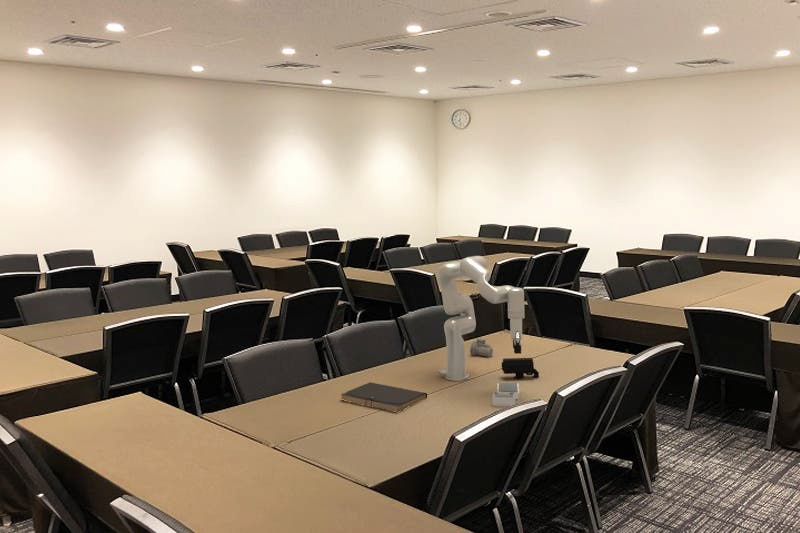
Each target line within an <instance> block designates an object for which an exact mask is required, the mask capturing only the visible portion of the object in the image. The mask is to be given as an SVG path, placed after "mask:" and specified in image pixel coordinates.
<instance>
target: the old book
mask: <svg viewBox="0 0 800 533" xmlns="http://www.w3.org/2000/svg"><path fill="white" fill-rule="evenodd" d="M340 396H341V400H342V399H344V400H347V401H351V402H355V403H359V404H364V405H365V407H367V406H366V405H369V406H371V407H372V406H373V407H377V408H376V409H379V408H383V409H382V410H384V409H388V410H391V411H390V412H392V411H396V412H399V411H401V410H403V409H405V408H407V407H408V406H411V405H412V406H414V405H416V404H418V403H420V402H422V401H424V400H426V399H427V398H428V393H427V392H422V391H419V390H412V389H407V388H404V387H403V388H402V387H397V386H391V385H388V384H387V385H386V384H383V383H382V384H381V383H376V382H372V381H371V382H367V383H365V384H363V385H359V386H357V387H355V388H353V389H349V390H347V391H346V392H343V393H340ZM425 398H426V399H425ZM423 399H424V400H423ZM421 400H422V401H421ZM419 401H420V402H419ZM417 402H418V403H417ZM415 403H416V404H415ZM413 404H414V405H413ZM364 405H363V406H364ZM369 406H368V407H369ZM412 406H411V407H412ZM371 407H370V408H371ZM373 407H372V408H373ZM407 409H408V408H407ZM388 410H387V411H388ZM405 410H406V409H405ZM403 411H404V410H403ZM396 412H395V413H396ZM401 412H402V411H401ZM399 413H400V412H399Z"/></svg>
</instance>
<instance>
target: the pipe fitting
mask: <svg viewBox="0 0 800 533" xmlns="http://www.w3.org/2000/svg"><path fill="white" fill-rule="evenodd" d="M493 352H494V349H493V347H492V346H491V345H490V344H489V343H486V339H485V338H481V337H478V338H477V337H476V341H473V342H472V343H471V345H470V349H469V354H470V355H471V356H477V355H478V356H482V357H486V358H491V357H492V356H493Z"/></svg>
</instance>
